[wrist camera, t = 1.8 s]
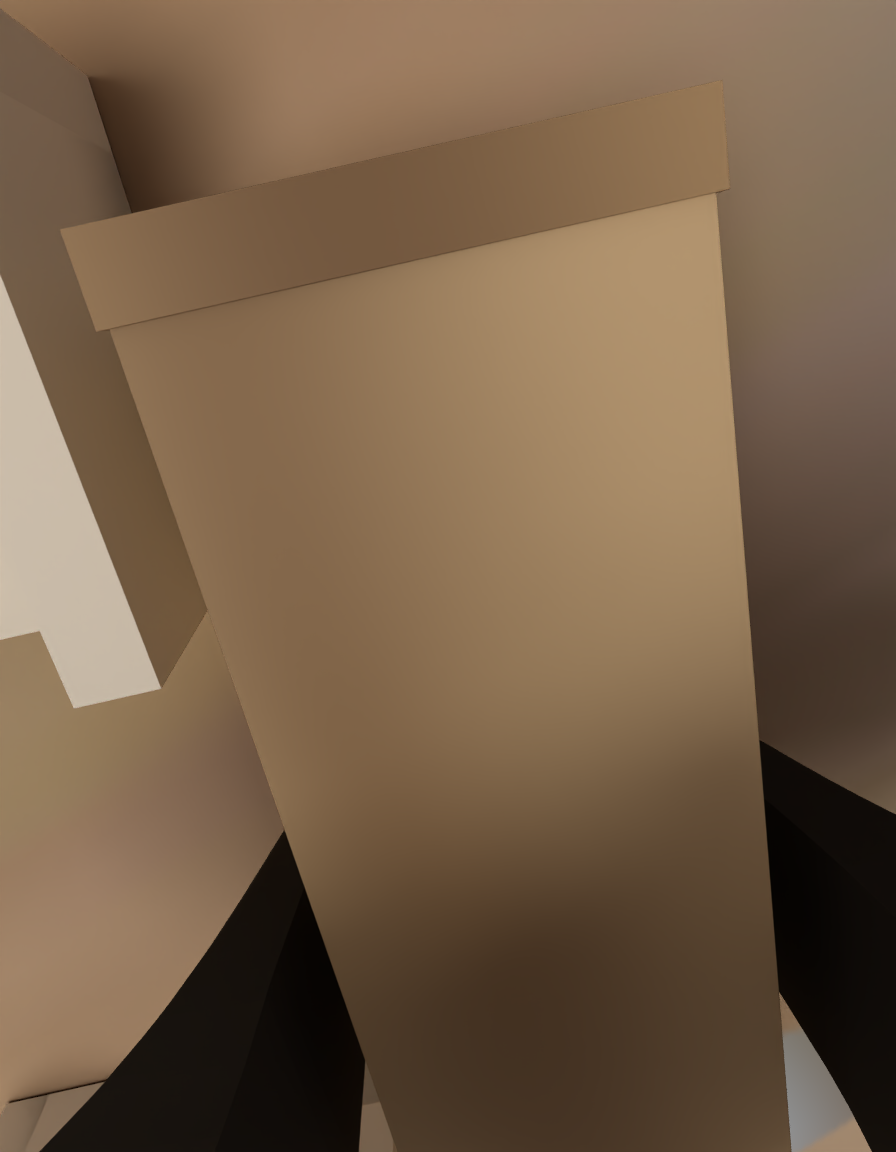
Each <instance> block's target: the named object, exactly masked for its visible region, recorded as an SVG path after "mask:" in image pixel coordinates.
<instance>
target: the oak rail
mask: <svg viewBox="0 0 896 1152" xmlns="http://www.w3.org/2000/svg"><path fill="white" fill-rule="evenodd" d="M727 189H730V179H729V166H728V152H727V138H726V124H725V111H724V97H723V83H722V80H721V81H716V82H712V83H707V84H703V85H698V86H694V87H690V88H685V89H681V90H676V91H672V92H667V93H663V94H659V95H654V96H650V97H645V98H641V99H636V100H632V101H628V102H623V103H619V104H614V105H610V106H605V107H601V108H597V109H592V110H588V111H583V112H579V113H574V114H570V115H565V116H561V117H557V118H552V119H548V120H543V121H539V122H534V123H530V124H526V125H521V126H517V127H512V128H508V129H503V130H499V131H495V132H490V133H486V134H481V135H477V136H472V137H468V138H464V139H459V140H455V141H450V142H446V143H441V144H437V145H433V146H428V147H424V148H419V149H415V150H410V151H406V152H402V153H397V154H393V155H388V156H384V157H379V158H375V159H371V160H366V161H362V162H357V163H353V164H348V165H344V166H340V167H335V168H331V169H326V170H322V171H317V172H313V173H309V174H304V175H300V176H295V177H291V178H286V179H282V180H278V181H273V182H269V183H264V184H260V185H255V186H251V187H247V188H242V189H238V190H233V191H229V192H224V193H220V194H216V195H211V196H207V197H202V198H198V199H193V200H189V201H185V202H180V203H176V204H171V205H167V206H162V207H158V208H153V209H149V210H145V211H140V212H136V213H131V214H127V215H122V216H118V217H114V218H109V219H105V220H100V221H96V222H91V223H87V224H83V225H78V226H74V227H69V228H65V229H60V231H61V234H62V237H63V240H64V243H65V245H66V248H67V251H68V254H69V257H70V259H71V262H72V265H73V268H74V271H75V273H76V276H77V279H78V282H79V285H80V287H81V290H82V293H83V296H84V299H85V302H86V304H87V307H88V310H89V313H90V316H91V318H92V321H93V324H94V327H95V330H96V332H98V331H109V330H110V333H111V335H112V338H113V341H114V344H115V347H116V350H117V353H118V355H119V358H120V361H121V364H122V367H123V370H124V373H125V375H126V378H127V381H128V384H129V387H130V390H131V393H132V395H133V398H134V401H135V404H136V407H137V410H138V413H139V415H140V418H141V421H142V424H143V427H144V430H145V433H146V435H147V438H148V441H149V444H150V447H151V450H152V453H153V455H154V458H155V461H156V464H157V467H158V470H159V472H160V475H161V478H162V481H163V484H164V487H165V490H166V492H167V495H168V498H169V501H170V504H171V507H172V510H173V512H174V515H175V518H176V521H177V524H178V527H179V530H180V532H181V535H182V538H183V541H184V544H185V547H186V550H187V552H188V555H189V558H190V561H191V564H192V567H193V570H194V572H195V575H196V578H197V581H198V584H199V587H200V590H201V592H202V595H203V598H204V601H205V604H206V607H207V610H208V612H209V615H210V618H211V621H212V624H213V627H214V630H215V632H216V635H217V638H218V641H219V644H220V647H221V650H222V652H223V655H224V658H225V661H226V664H227V667H228V670H229V672H230V675H231V678H232V681H233V684H234V687H235V690H236V692H237V695H238V698H239V701H240V704H241V707H242V710H243V712H244V715H245V718H246V721H247V724H248V727H249V730H250V732H251V735H252V738H253V741H254V744H255V747H256V750H257V752H258V755H259V758H260V761H261V764H262V767H263V770H264V772H265V775H266V778H267V781H268V784H269V787H270V790H271V792H272V795H273V798H274V801H275V804H276V807H277V810H278V812H279V815H280V818H281V821H282V824H283V827H284V830H285V832H286V835H287V838H288V841H289V844H290V847H291V850H292V852H293V855H294V858H295V861H296V864H297V867H298V870H299V872H300V875H301V878H302V881H303V884H304V887H305V890H306V892H307V895H308V898H309V901H310V904H311V907H312V910H313V912H314V915H315V918H316V921H317V924H318V927H319V929H320V932H321V935H322V938H323V941H324V944H325V947H326V949H327V952H328V955H329V958H330V961H331V964H332V967H333V969H334V972H335V975H336V978H337V981H338V984H339V987H340V989H341V992H342V995H343V998H344V1001H345V1004H346V1007H347V1009H348V1012H349V1015H350V1018H351V1021H352V1024H353V1027H354V1029H355V1032H356V1035H357V1038H358V1041H359V1044H360V1047H361V1049H362V1052H363V1055H364V1058H365V1061H366V1064H367V1067H368V1069H369V1072H370V1075H371V1078H372V1081H373V1084H374V1087H375V1089H376V1092H377V1095H378V1098H379V1101H380V1104H381V1107H382V1109H383V1112H384V1115H385V1118H386V1121H387V1124H388V1127H389V1129H390V1132H391V1135H392V1138H393V1141H394V1144H395V1147H396V1149H397V1152H791V1140H790V1127H789V1115H788V1102H787V1089H786V1076H785V1064H784V1050H783V1038H782V1025H781V1012H780V1000H779V987H778V974H777V962H776V949H775V936H774V923H773V911H772V898H771V885H770V873H769V860H768V847H767V834H766V822H765V809H764V796H763V784H762V771H761V758H760V746H759V733H758V720H757V707H756V695H755V682H754V669H753V657H752V644H751V631H750V618H749V606H748V593H747V580H746V568H745V555H744V542H743V530H742V517H741V504H740V491H739V479H738V466H737V453H736V441H735V428H734V415H733V402H732V390H731V377H730V364H729V352H728V339H727V326H726V314H725V301H724V288H723V275H722V263H721V250H720V237H719V225H718V212H717V199H716V193H719V192H722V191H724V190H727Z"/></svg>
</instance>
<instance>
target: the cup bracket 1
mask: <svg viewBox="0 0 896 1152" xmlns="http://www.w3.org/2000/svg"><path fill="white" fill-rule="evenodd" d="M131 213H132V212H131V209H130V206H129V203H128V200H127V197H126V194H125V191H124V188H123V185H122V182H121V178H120V175H119V172H118V169H117V166H116V163H115V160H114V157H113V154H112V151H111V148H110V144H109V141H108V138H107V135H106V132H105V129H104V126H103V123H102V120H101V117H100V114H99V110H98V107H97V104H96V101H95V98H94V95H93V92H92V89H91V86H90V83H89V80H88V77H87V75H86V74H85V73H83V72H82V71H81V70H80V69H78V68H77V67H76V66H74V65H73V64H72V63H70V62H69V61H68V60H67V59H65V58H64V57H63V56H61V55H60V54H59V53H57V52H56V51H55V50H54V49H52V48H51V47H50V46H48V45H47V44H46V43H45V42H43V41H42V40H41V39H39V38H38V37H37V36H35V35H34V34H33V33H32V32H30V31H29V30H28V29H26V28H25V27H24V26H22V25H21V24H20V23H19V22H17V21H16V20H15V19H13V18H12V17H11V16H9V15H8V14H7V13H6V12H4V11H3V10H2V9H0V640H1V639H6V638H10V637H15V636H19V635H24V634H28V633H32V632H37V631H40V632H41V635H42V637H43V639H44V641H45V644H46V646H47V648H48V651H49V653H50V655H51V657H52V660H53V662H54V664H55V667H56V669H57V671H58V673H59V676H60V678H61V680H62V682H63V685H64V687H65V689H66V692H67V694H68V696H69V698H70V701H71V703H72V705H73V708H78V707H83V706H87V705H92V704H96V703H100V702H105V701H109V700H114V699H118V698H123V697H127V696H131V695H136V694H140V693H145V692H149V691H154V690H158V689H161V688H162V687H163V685H164V683H165V681H166V680H167V678H168V676H169V675H170V673H171V671H172V670H173V668H174V666H175V664H176V663H177V661H178V659H179V658H180V656H181V654H182V653H183V651H184V649H185V647H186V646H187V644H188V642H189V641H190V639H191V637H192V636H193V634H194V632H195V631H196V629H197V627H198V625H199V624H200V622H201V620H202V619H203V617H204V615H205V614H206V612H207V607H206V604H205V601H204V598H203V595H202V592H201V590H200V587H199V584H198V581H197V578H196V575H195V572H194V570H193V567H192V564H191V561H190V558H189V555H188V552H187V550H186V547H185V544H184V541H183V538H182V535H181V532H180V530H179V527H178V524H177V521H176V518H175V515H174V512H173V510H172V507H171V504H170V501H169V498H168V495H167V492H166V490H165V487H164V484H163V481H162V478H161V475H160V472H159V470H158V467H157V464H156V461H155V458H154V455H153V453H152V450H151V447H150V444H149V441H148V438H147V435H146V433H145V430H144V427H143V424H142V421H141V418H140V415H139V413H138V410H137V407H136V404H135V401H134V398H133V395H132V393H131V390H130V387H129V384H128V381H127V378H126V375H125V373H124V370H123V367H122V364H121V361H120V358H119V355H118V353H117V350H116V347H115V344H114V341H113V338H112V335H111V333H110V330H109V331H98V332H96V330H95V327H94V324H93V321H92V318H91V316H90V313H89V310H88V307H87V304H86V302H85V299H84V296H83V293H82V290H81V287H80V285H79V282H78V279H77V276H76V273H75V271H74V268H73V265H72V262H71V259H70V257H69V254H68V251H67V248H66V245H65V243H64V240H63V237H62V234H61V231H60V229H65V228H69V227H74V226H78V225H83V224H87V223H91V222H96V221H100V220H105V219H109V218H114V217H118V216H122V215H127V214H131Z"/></svg>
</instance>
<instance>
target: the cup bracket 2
mask: <svg viewBox="0 0 896 1152" xmlns="http://www.w3.org/2000/svg"><path fill="white" fill-rule="evenodd" d="M103 1083H104V1082H102V1083H97V1084H93V1085H89V1086H84V1087H80V1088H75V1089H71V1090H66V1091H62V1092H58V1093H53V1094H49V1095H44V1096H40V1097H35V1098H31V1099H27V1100H22V1101H18V1102H13V1103H9V1104H6V1106H5V1108H4V1110H3V1112H2V1114H1V1116H0V1152H39V1151H40V1150H41V1149H42V1148H43V1147H44V1146H45V1145H46V1144H47V1143H48V1142H49V1141H50V1140H51V1139H52V1138H53V1137H54V1136H55V1134H56V1133H57V1132H58V1131H59V1130H60V1129H61V1128H62V1127H63V1126H64V1125H65V1124H66V1123H67V1122H68V1121H69V1120H70V1119H71V1118H72V1117H73V1116H74V1114H75V1113H76V1112H77V1111H78V1110H79V1109H80V1108H81V1107H82V1106H83V1105H84V1104H85V1103H86V1102H87V1101H88V1100H89V1099H90V1098H91V1097H92V1095H93V1094H94V1093H95V1092H96V1091H97V1090H98V1089H99V1088H100V1087H101V1085H102V1084H103ZM359 1152H397V1149H396V1147H395V1144H394V1141H393V1138H392V1135H391V1132H390V1129H389V1127H388V1124H387V1121H386V1118H385V1115H384V1112H383V1109H382V1107H381V1104H380V1101H379V1098H378V1095H377V1092H376V1089H375V1087H374V1084H373V1081H372V1078H371V1075H370V1072H369V1069H368V1067H367V1064H366V1061H365V1075H364V1088H363V1102H362V1115H361V1129H360V1142H359Z"/></svg>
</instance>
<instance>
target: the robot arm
mask: <svg viewBox="0 0 896 1152" xmlns="http://www.w3.org/2000/svg"><path fill="white" fill-rule="evenodd" d="M759 746H760V758H761V771H762V784H763V796H764V809H765V822H766V834H767V847H768V860H769V873H770V885H771V898H772V911H773V923H774V936H775V949H776V962H777V974H778V987H779V992H780V994H781V995H782V997H783V998H784V1000H785V1002H786V1003H787V1005H788V1007H789V1008H790V1010H791V1011H792V1013H793V1015H794V1016H795V1018H796V1019H797V1021H798V1023H799V1024H800V1026H801V1027H802V1029H803V1031H804V1032H805V1034H806V1035H807V1037H808V1039H809V1040H810V1042H811V1043H812V1045H813V1047H814V1048H815V1050H816V1051H817V1053H818V1054H819V1056H820V1058H821V1060H822V1061H823V1063H824V1064H825V1066H826V1067H827V1069H828V1071H829V1073H830V1074H831V1076H832V1078H833V1080H834V1081H835V1083H836V1085H837V1086H838V1088H839V1090H840V1092H841V1094H842V1095H843V1097H844V1099H845V1101H846V1102H847V1104H848V1106H849V1108H850V1110H851V1111H852V1113H853V1115H854V1117H855V1119H856V1121H857V1123H858V1125H859V1127H860V1129H861V1131H862V1133H863V1135H864V1137H865V1139H866V1141H867V1143H868V1145H869V1147H870V1149H871V1151H872V1152H896V814H894V813H892V812H890V811H888V810H886V809H884V808H882V807H880V806H878V805H876V804H874V803H872V802H870V801H868V800H866V799H864V798H862V797H860V796H858V795H856V794H855V793H853V792H851V791H849V790H847V789H845V788H843V787H842V786H840V785H838V784H836V783H834V782H832V781H830V780H829V779H827V778H825V777H823V776H821V775H820V774H818V773H816V772H814V771H813V770H811V769H809V768H807V767H805V766H804V765H802V764H800V763H798V762H797V761H795V760H793V759H791V758H790V757H788V756H786V755H784V754H783V753H781V752H779V751H778V750H776V749H774V748H772V747H771V746H769V745H767V744H766V743H764V742H762V741H760V740H759ZM364 1075H365V1058H364V1055H363V1052H362V1049H361V1047H360V1044H359V1041H358V1038H357V1035H356V1032H355V1029H354V1027H353V1024H352V1021H351V1018H350V1015H349V1012H348V1009H347V1007H346V1004H345V1001H344V998H343V995H342V992H341V989H340V987H339V984H338V981H337V978H336V975H335V972H334V969H333V967H332V964H331V961H330V958H329V955H328V952H327V949H326V947H325V944H324V941H323V938H322V935H321V932H320V929H319V927H318V924H317V921H316V918H315V915H314V912H313V910H312V907H311V904H310V901H309V898H308V895H307V892H306V890H305V887H304V884H303V881H302V878H301V875H300V872H299V870H298V867H297V864H296V861H295V858H294V855H293V852H292V850H291V847H290V844H289V841H288V838H287V835H286V832H285V830H284V832H283V833H282V835H281V836H280V838H279V839H278V841H277V842H276V844H275V846H274V847H273V849H272V851H271V852H270V854H269V855H268V857H267V859H266V860H265V862H264V864H263V865H262V867H261V868H260V870H259V872H258V873H257V875H256V876H255V878H254V880H253V881H252V883H251V884H250V886H249V888H248V889H247V891H246V892H245V894H244V896H243V897H242V899H241V900H240V902H239V903H238V905H237V907H236V908H235V910H234V911H233V913H232V914H231V916H230V917H229V919H228V920H227V922H226V923H225V925H224V926H223V928H222V929H221V931H220V933H219V934H218V936H217V937H216V939H215V940H214V942H213V943H212V945H211V946H210V948H209V949H208V950H207V952H206V953H205V955H204V956H203V958H202V959H201V960H200V962H199V963H198V964H197V966H196V967H195V969H194V970H193V971H192V973H191V974H190V976H189V977H188V978H187V980H186V981H185V983H184V984H183V985H182V987H181V988H180V989H179V991H178V992H177V994H176V995H175V996H174V998H173V999H172V1001H171V1002H170V1003H169V1005H168V1006H167V1007H166V1008H165V1010H164V1011H163V1012H162V1014H161V1015H160V1016H159V1018H158V1019H157V1020H156V1021H155V1023H154V1024H153V1025H152V1026H151V1027H150V1029H149V1030H148V1031H147V1032H146V1034H145V1035H144V1036H143V1037H142V1039H141V1040H140V1041H139V1042H138V1043H137V1045H136V1046H135V1047H134V1048H133V1049H132V1050H131V1052H130V1053H129V1054H128V1055H127V1056H126V1058H125V1059H124V1060H123V1061H122V1062H121V1063H120V1065H119V1066H118V1067H117V1068H116V1069H115V1071H114V1072H113V1073H112V1074H111V1075H110V1076H109V1078H108V1079H107V1080H106V1081H105V1082H104V1083H103V1084H102V1085H101V1087H100V1088H99V1089H98V1090H97V1091H96V1092H95V1093H94V1094H93V1095H92V1097H91V1098H90V1099H89V1100H88V1101H87V1102H86V1103H85V1104H84V1105H83V1106H82V1107H81V1108H80V1109H79V1110H78V1111H77V1112H76V1113H75V1114H74V1116H73V1117H72V1118H71V1119H70V1120H69V1121H68V1122H67V1123H66V1124H65V1125H64V1126H63V1127H62V1128H61V1129H60V1130H59V1131H58V1132H57V1133H56V1134H55V1136H54V1137H53V1138H52V1139H51V1140H50V1141H49V1142H48V1143H47V1144H46V1145H45V1146H44V1147H43V1148H42V1149H41V1150H40V1151H39V1152H359V1142H360V1129H361V1115H362V1102H363V1088H364Z"/></svg>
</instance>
